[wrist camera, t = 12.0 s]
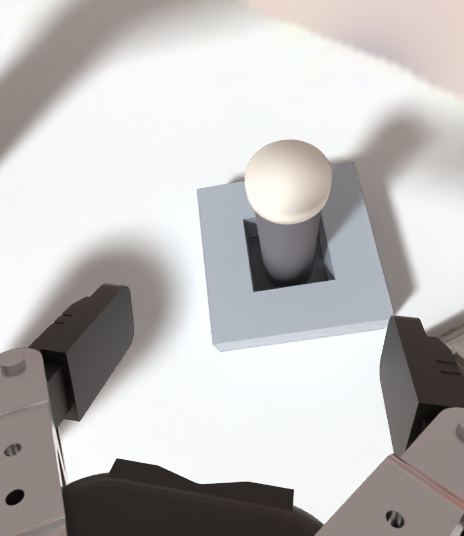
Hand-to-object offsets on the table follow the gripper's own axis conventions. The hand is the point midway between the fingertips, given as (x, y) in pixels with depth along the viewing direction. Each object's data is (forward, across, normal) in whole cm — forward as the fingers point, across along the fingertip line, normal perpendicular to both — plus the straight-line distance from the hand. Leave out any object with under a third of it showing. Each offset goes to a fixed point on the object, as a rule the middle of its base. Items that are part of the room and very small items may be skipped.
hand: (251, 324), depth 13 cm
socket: (+24, 0, +9) cm, 26 cm away
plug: (+24, 0, +10) cm, 26 cm away
